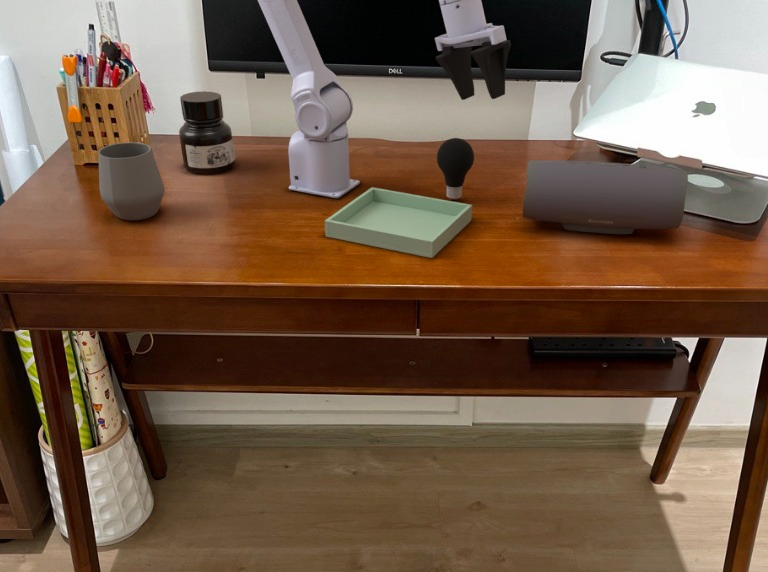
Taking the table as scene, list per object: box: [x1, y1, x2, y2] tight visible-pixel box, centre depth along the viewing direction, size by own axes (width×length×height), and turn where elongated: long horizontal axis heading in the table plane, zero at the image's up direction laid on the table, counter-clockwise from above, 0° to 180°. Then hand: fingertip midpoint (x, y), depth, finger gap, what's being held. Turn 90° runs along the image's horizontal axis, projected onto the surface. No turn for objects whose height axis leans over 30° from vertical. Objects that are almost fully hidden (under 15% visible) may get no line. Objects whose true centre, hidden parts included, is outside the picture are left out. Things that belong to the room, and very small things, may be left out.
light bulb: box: [436, 137, 475, 202], centre depth 131 cm, size 6×6×10 cm
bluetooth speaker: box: [522, 159, 689, 235], centre depth 123 cm, size 23×9×10 cm, turn 80°
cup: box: [97, 141, 165, 222], centre depth 125 cm, size 10×9×10 cm
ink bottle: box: [178, 90, 236, 175], centre depth 143 cm, size 10×9×12 cm
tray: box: [324, 187, 473, 259], centre depth 124 cm, size 17×15×2 cm
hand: (482, 97), depth 122 cm, fingers open, 7 cm apart
